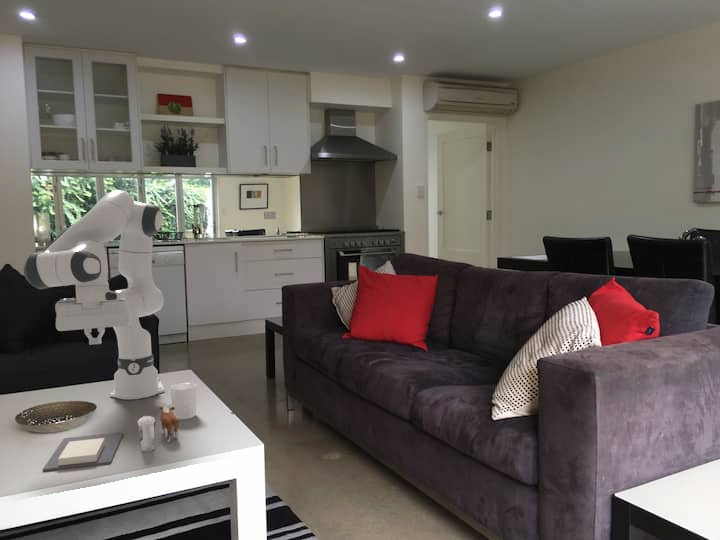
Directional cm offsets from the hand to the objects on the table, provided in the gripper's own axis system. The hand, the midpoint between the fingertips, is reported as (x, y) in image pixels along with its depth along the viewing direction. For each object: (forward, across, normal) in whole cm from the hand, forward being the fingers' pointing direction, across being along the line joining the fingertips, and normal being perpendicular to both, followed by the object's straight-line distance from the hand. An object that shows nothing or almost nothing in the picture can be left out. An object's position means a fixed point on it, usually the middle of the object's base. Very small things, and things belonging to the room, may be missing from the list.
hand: (95, 344), depth 168 cm
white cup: (+26, +21, +17) cm, 38 cm away
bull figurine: (+29, +19, 0) cm, 35 cm away
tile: (+27, -2, -6) cm, 28 cm away
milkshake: (+30, +15, -10) cm, 35 cm away
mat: (+29, -2, -7) cm, 30 cm away
